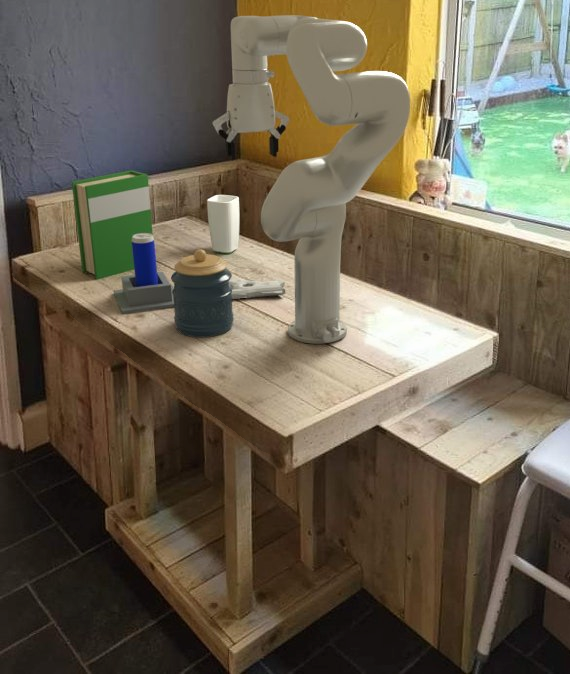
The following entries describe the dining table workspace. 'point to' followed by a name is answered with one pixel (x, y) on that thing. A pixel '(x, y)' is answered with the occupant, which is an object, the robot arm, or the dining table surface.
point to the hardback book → (111, 220)
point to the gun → (255, 288)
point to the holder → (144, 295)
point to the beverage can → (144, 259)
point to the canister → (202, 295)
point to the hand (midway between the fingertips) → (252, 157)
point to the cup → (223, 222)
